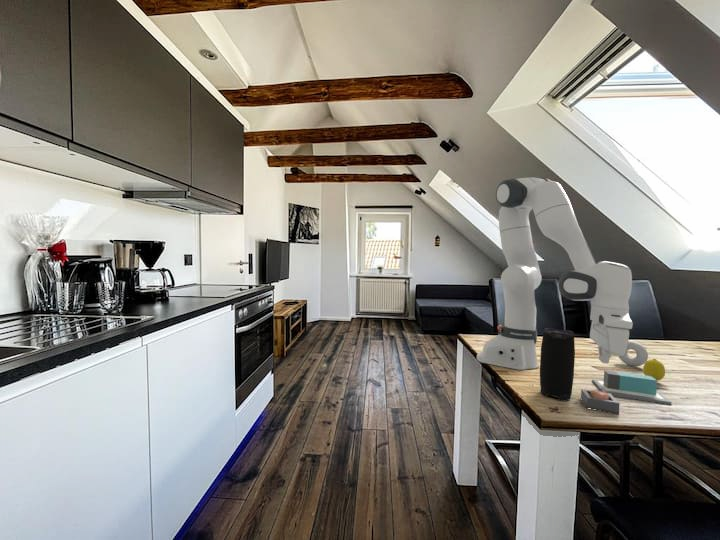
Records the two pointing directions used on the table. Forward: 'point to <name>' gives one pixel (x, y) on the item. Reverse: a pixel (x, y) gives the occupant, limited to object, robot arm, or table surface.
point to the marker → (630, 382)
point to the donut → (639, 359)
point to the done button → (599, 395)
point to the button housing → (600, 402)
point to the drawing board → (631, 393)
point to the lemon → (654, 369)
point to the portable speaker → (557, 363)
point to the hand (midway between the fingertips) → (603, 361)
